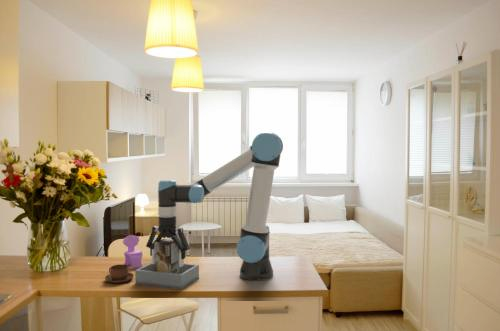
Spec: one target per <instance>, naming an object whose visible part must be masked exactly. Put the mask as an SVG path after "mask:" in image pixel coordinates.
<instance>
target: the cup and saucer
mask: <svg viewBox="0 0 500 331" xmlns="http://www.w3.org/2000/svg"><path fill="white" fill-rule="evenodd" d="M108 273H109V274H107V275H106V276H105V277H104V280H105V281H107V282H108V283H112V284H113V283H114V284H117V283H118V284H120V283H125V282H129V281H130V280H132V279H133V278H134V277H135V275H134V274H133V273H131V272H129V265H124V264H115V265H112V266H110V267H109V269H108Z"/></svg>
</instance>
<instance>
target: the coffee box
mask: <svg viewBox="0 0 500 331" xmlns="http://www.w3.org/2000/svg"><path fill="white" fill-rule="evenodd" d="M154 241H155V240H154ZM179 252H180V249H179V248H178V246H177V245H176V243H175V242H174V241H173V239H168V238H167V239H166V238H164V239H163V238H162V239H161V240H159V241H155V272H165V273H174V274H180V269H179Z"/></svg>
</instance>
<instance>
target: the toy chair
mask: <svg viewBox="0 0 500 331" xmlns="http://www.w3.org/2000/svg"><path fill="white" fill-rule="evenodd" d="M139 242H140V238H139V236H137V235H134V234H130V235H127V236H126V237H124V238H123V240H122V244H124V246H125V247H127V250H125V251H123V252H124V253H123V254H124V258H125V260H124V263H123V265H128V266H130V268H129V270H136V269H139V268H141V267H143V264H142V259H143V251H140V250H139V249H135V247H137V246H138V244H139Z"/></svg>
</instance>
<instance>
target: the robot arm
mask: <svg viewBox="0 0 500 331" xmlns="http://www.w3.org/2000/svg"><path fill="white" fill-rule="evenodd" d="M283 148H284V144H283V141H282V139H281V137H280V136H279V135H277V134H276V133H274V132H271V131H263V132H260V133H259V134H257V135H256V136H255V137H254V138H253V141H252V143H251V145H250V146H249V148H248V150H246V151H244V152H243V153H241V154H239V155H238V156H237V157H235V158H233V159H232V160H230V161H228V162H227V163H225V164H224V165H221V167H218V168H217V169H216V170H213V171H212V172H211V173H209V174H207V175H206V176H204V177H202V178H201V179H199V180H197V181H196V182H194V183H191V184H183V185H181V184H177V181H176V180H175V179H163V180H160V181H159V182H158V188H157V196H158V197H157V198H158V202H157V204H158V206H157V207H158V211H157V212H158V217H157V218H158V226H157V225H154V226H152V227H151V232H150V233H151V234H150V236H149V238H148V239H147V240H148V241H147V242H146V244H145V247H146V248H148V249H150V251H149V252H150V257H151V263H152V264H155V241H159V240H161V239H163V238H164V239H166V238H167V239H170V238H171V239H170V240H173V241H174V242H175V243H176V245H177V246H178V248H179V267H182V266H184V264H185V263H184V262H185V258H186V251H188V250H190V245H189V244H188V241H187V238H186V237H185V236H186V235H185V234H184V228H183V227H178V228H177V216H176V215H177V203H186V204H187V203H189V204H191V203H193V204H200V203H203V200H204V199H205V197H206V196H207V195H209V194H211V193H212V192H214V191H216V190H218V189H219V188H222V186H224V185H225V184H227V183H229V182H231V181H233V180H234V179H235V178H237V177H239V176H241V175H242V174H244V173H246V172H247V171H249V170H250V169H252V170H253V173H252V178H251V186H250V191H249V198H248V199H249V200H248V206H247V209H246V210H247V211H246V212H247V213H246V218H245V223H244V224H243V225H241V226H240V235H239V240H238V241H237V244H236V253H237V255H238V257H239V258H240V259H241V260H242V262H241V266H240V269H239V276H240V278H242V279H243V280H247V281H248V280H249V281H265V280H269V279H272V278H273V276H274V269H273V266H272V263H271V259H270V234H271V232H270V227H269V225H267V221H268V214H269V207H270V201H271V194H272V187H273V181H274V174H275V171H276V169H278V168H279V167H280V162H281V160H280V159H281V154H282V152H283ZM158 232H159V234H158V235H157V233H158ZM156 236H157V237H156Z"/></svg>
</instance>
